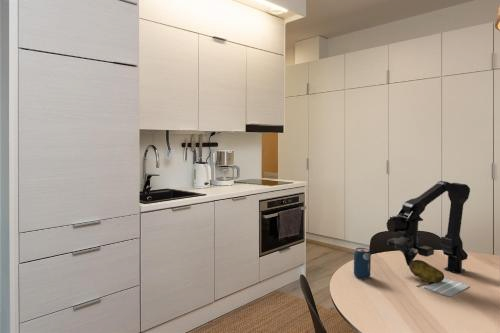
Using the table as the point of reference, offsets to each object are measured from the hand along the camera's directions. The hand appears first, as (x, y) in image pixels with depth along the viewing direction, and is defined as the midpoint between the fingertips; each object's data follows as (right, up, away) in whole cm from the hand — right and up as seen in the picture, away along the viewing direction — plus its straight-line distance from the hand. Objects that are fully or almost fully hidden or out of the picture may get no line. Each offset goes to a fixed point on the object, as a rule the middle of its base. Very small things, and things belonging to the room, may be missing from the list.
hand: (408, 265), depth 160 cm
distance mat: (+10, -5, -13) cm, 17 cm away
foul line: (+5, -5, -7) cm, 10 cm away
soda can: (-21, -5, -1) cm, 21 cm away
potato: (+5, -5, -6) cm, 9 cm away
